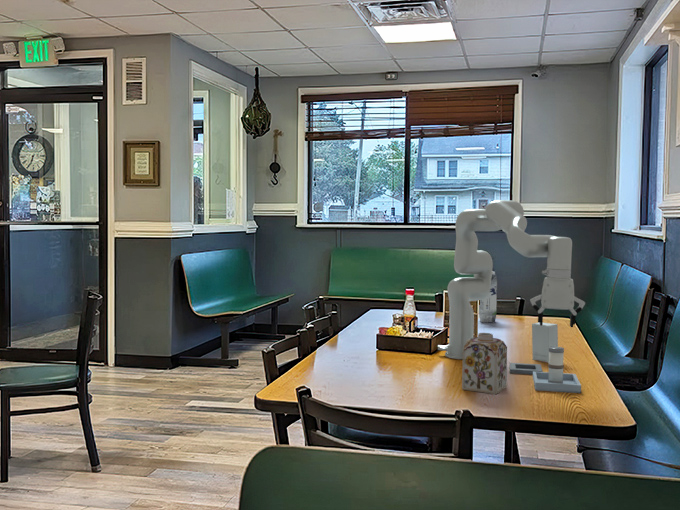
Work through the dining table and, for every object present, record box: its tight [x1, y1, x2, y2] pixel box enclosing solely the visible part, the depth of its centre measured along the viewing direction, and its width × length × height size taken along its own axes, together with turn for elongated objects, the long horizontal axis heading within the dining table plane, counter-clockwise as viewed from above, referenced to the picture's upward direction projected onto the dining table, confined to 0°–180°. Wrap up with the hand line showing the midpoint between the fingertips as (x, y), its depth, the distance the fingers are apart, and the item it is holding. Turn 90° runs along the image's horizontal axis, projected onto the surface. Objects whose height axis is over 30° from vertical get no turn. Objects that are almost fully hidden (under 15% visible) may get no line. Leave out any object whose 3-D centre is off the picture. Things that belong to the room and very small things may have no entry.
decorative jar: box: [461, 332, 508, 395], centre depth 215 cm, size 12×12×18 cm
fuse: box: [547, 346, 565, 384], centre depth 220 cm, size 5×5×12 cm
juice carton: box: [478, 270, 498, 323], centre depth 354 cm, size 9×10×27 cm
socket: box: [509, 362, 544, 376], centre depth 240 cm, size 11×14×2 cm
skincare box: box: [531, 322, 559, 364], centre depth 257 cm, size 8×6×15 cm
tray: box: [532, 371, 582, 394], centre depth 220 cm, size 14×16×2 cm
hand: (556, 325), depth 220 cm, fingers open, 9 cm apart
